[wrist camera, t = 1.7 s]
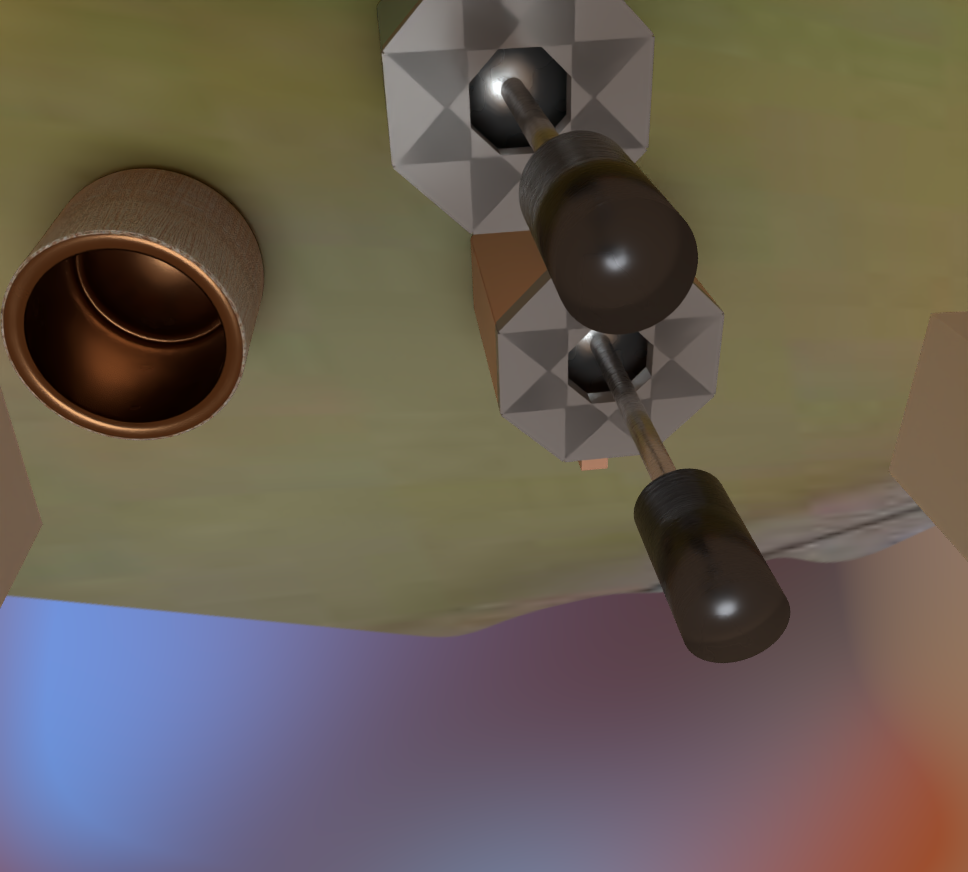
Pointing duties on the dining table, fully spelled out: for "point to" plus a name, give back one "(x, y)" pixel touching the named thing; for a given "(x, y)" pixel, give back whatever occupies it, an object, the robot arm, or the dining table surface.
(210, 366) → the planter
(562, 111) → the dark brown cylinder-topped rod
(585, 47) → the pot teal
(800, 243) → the dining table surface
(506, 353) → the pot terracotta
